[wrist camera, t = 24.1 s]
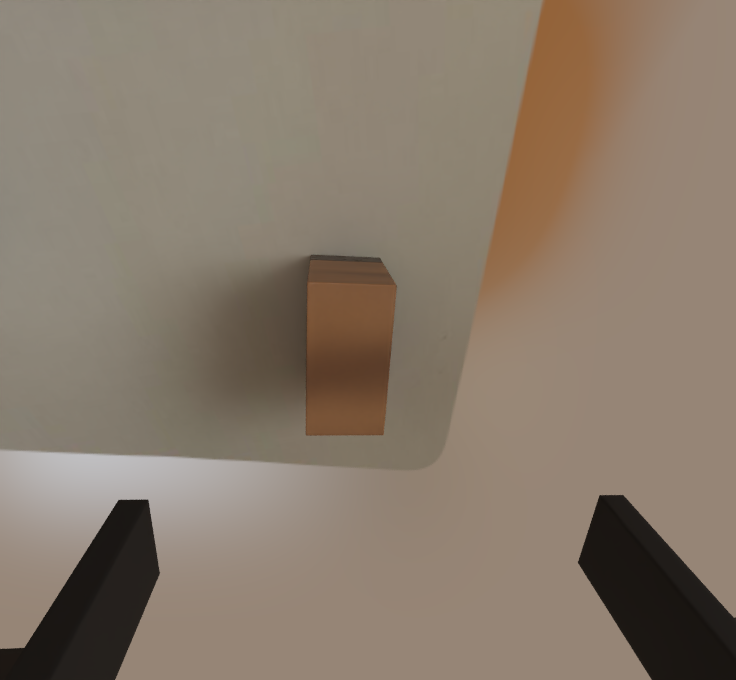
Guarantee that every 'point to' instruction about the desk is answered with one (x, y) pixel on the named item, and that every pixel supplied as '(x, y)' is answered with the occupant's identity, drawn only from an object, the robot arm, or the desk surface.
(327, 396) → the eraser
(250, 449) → the desk surface
